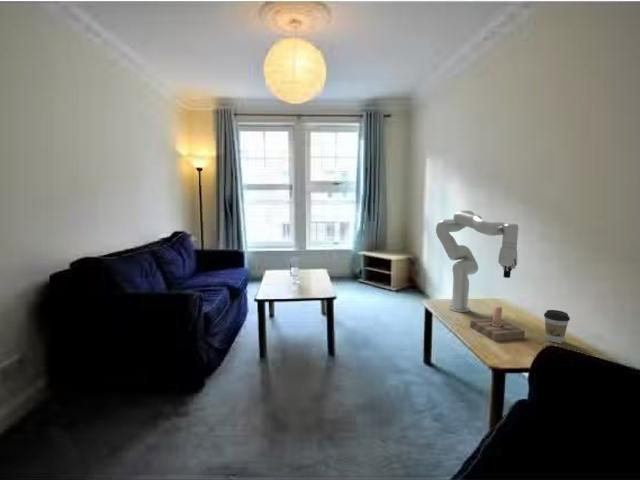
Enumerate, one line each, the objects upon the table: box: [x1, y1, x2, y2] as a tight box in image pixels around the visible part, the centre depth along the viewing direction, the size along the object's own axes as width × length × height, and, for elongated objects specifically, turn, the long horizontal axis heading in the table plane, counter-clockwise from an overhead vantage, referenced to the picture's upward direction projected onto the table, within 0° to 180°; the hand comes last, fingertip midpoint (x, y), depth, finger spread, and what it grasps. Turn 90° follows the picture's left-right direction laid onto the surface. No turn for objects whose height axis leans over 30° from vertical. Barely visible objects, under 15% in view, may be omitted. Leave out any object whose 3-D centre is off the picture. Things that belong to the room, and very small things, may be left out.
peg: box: [492, 305, 503, 327], centre depth 205 cm, size 4×4×14 cm
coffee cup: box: [543, 309, 571, 343], centre depth 195 cm, size 11×11×15 cm
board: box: [469, 318, 526, 342], centre depth 206 cm, size 20×18×4 cm
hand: (506, 277), depth 217 cm, fingers closed
